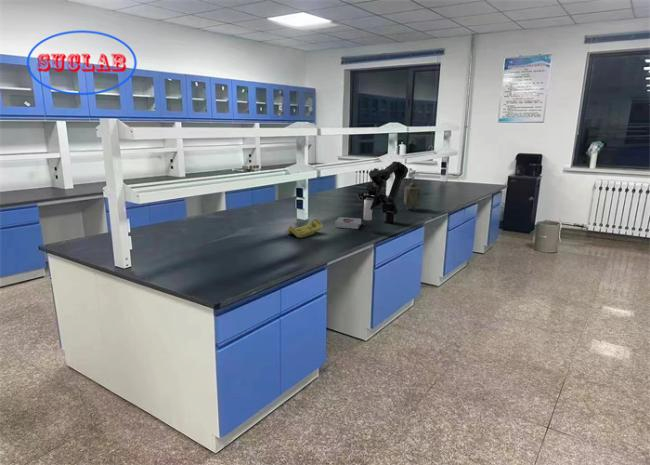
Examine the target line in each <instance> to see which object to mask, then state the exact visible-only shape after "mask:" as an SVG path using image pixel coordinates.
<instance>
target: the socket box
mask: <svg viewBox="0 0 650 465" xmlns="http://www.w3.org/2000/svg"><path fill="white" fill-rule="evenodd" d="M361 225H362V218H359V217H358V218H355V217H343V216H341V217H340V216H339V217H338V218H337V219H336V220H335V221H334V228H337V229H350V228H351V230H359V228H360V227H361Z"/></svg>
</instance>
